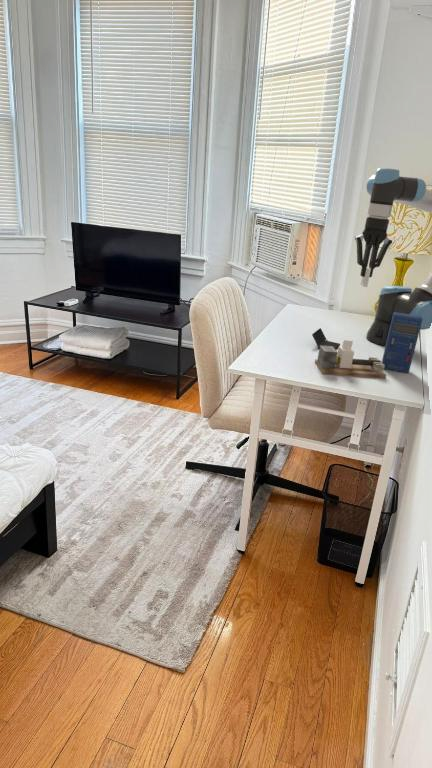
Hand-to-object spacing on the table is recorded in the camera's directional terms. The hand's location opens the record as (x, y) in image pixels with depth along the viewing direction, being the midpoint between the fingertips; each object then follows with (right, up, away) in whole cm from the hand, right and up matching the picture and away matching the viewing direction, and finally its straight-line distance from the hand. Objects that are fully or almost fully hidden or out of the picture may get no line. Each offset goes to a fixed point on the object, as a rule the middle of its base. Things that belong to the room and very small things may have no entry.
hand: (363, 285), depth 188 cm
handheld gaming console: (-10, -21, +18) cm, 29 cm away
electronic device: (+11, -30, +1) cm, 32 cm away
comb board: (-6, -30, -5) cm, 31 cm away
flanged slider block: (-9, -29, -6) cm, 31 cm away
